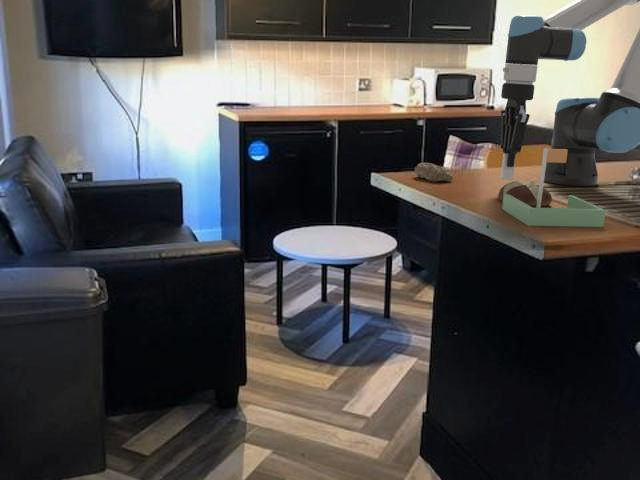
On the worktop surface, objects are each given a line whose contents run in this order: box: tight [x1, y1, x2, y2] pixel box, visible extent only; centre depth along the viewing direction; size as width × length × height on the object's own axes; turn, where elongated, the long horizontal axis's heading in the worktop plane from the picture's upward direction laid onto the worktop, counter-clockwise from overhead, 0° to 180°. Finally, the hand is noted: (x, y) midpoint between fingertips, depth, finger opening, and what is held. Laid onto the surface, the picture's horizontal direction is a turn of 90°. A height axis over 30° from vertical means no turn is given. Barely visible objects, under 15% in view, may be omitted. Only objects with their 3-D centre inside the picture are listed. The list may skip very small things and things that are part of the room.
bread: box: [498, 180, 553, 208], centre depth 159 cm, size 11×11×5 cm
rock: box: [414, 162, 454, 183], centre depth 186 cm, size 8×11×4 cm
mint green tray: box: [501, 148, 607, 228], centre depth 143 cm, size 16×15×16 cm
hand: (506, 179), depth 170 cm, fingers closed
